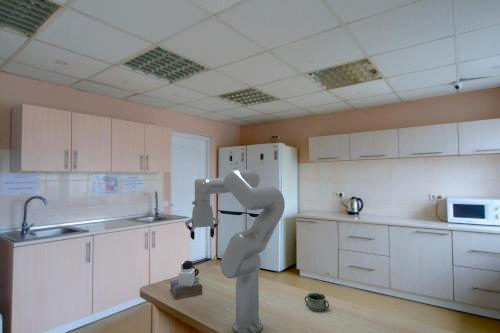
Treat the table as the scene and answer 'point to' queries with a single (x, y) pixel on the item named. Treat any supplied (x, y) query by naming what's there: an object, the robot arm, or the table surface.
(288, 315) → the table surface
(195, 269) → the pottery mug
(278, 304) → the table surface
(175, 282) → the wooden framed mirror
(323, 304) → the vessel
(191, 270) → the medicine bottle
